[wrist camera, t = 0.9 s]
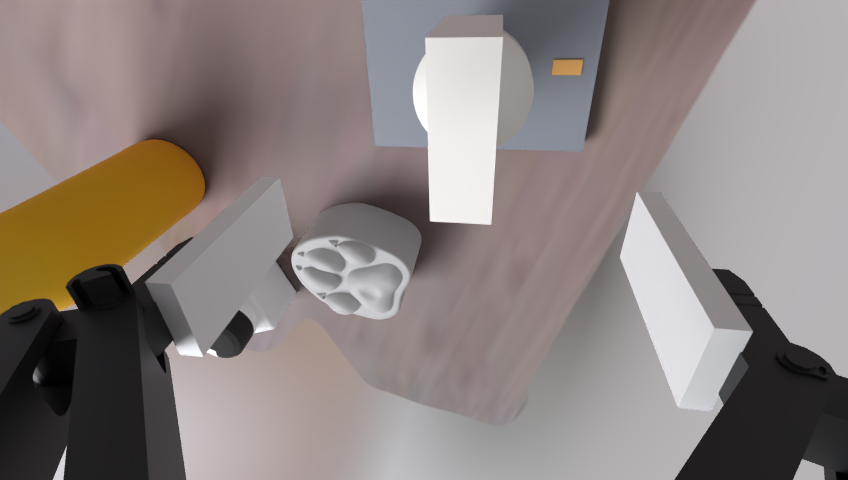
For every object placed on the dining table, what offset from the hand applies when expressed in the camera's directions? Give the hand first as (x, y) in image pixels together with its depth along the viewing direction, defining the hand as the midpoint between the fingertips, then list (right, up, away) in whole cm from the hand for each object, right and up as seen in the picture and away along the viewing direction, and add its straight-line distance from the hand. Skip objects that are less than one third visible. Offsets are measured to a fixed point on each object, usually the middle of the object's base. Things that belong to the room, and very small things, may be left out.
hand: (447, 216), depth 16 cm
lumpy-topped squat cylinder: (-8, -1, +36) cm, 37 cm away
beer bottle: (-31, +7, +35) cm, 48 cm away
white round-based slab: (+3, +10, +17) cm, 20 cm away
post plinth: (+4, +15, +23) cm, 28 cm away
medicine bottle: (-23, -6, +42) cm, 48 cm away
